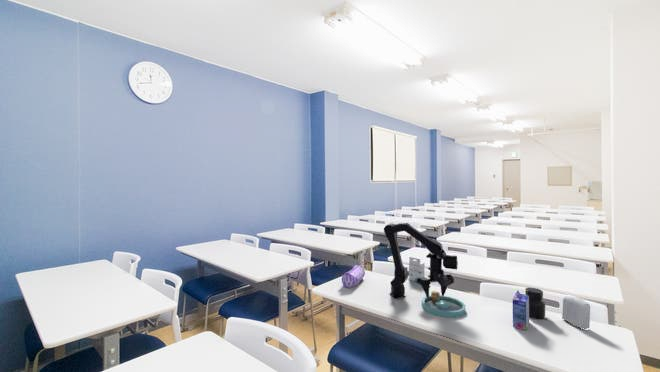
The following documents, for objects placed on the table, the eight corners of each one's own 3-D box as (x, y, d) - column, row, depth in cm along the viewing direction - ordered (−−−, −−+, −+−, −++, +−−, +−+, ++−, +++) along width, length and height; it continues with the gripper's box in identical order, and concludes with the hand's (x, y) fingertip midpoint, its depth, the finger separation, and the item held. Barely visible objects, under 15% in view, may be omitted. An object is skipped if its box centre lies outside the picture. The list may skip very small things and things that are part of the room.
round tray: (439, 319, 136) (439, 314, 136) (414, 302, 155) (414, 297, 155) (474, 313, 142) (474, 308, 142) (446, 297, 161) (446, 293, 161)
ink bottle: (544, 313, 143) (545, 288, 142) (547, 321, 135) (548, 295, 134) (520, 309, 147) (521, 285, 147) (522, 316, 139) (522, 291, 139)
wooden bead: (434, 303, 152) (434, 294, 152) (429, 300, 155) (429, 291, 155) (441, 302, 153) (441, 293, 153) (436, 299, 157) (436, 290, 157)
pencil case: (352, 276, 195) (352, 262, 195) (365, 278, 191) (366, 263, 191) (340, 288, 174) (340, 272, 174) (355, 290, 171) (356, 274, 171)
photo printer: (591, 330, 127) (592, 301, 127) (583, 330, 127) (584, 302, 126) (568, 318, 138) (568, 292, 137) (560, 319, 137) (561, 292, 136)
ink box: (424, 281, 186) (425, 258, 185) (420, 283, 183) (420, 259, 182) (413, 278, 192) (413, 255, 192) (408, 279, 189) (408, 256, 189)
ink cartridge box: (514, 318, 138) (515, 287, 137) (529, 322, 134) (529, 290, 134) (511, 326, 130) (512, 293, 129) (526, 330, 126) (527, 297, 126)
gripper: (430, 273, 143) (429, 305, 144) (461, 269, 149) (461, 300, 149) (416, 266, 154) (416, 296, 154) (446, 263, 159) (446, 292, 160)
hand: (435, 296), depth 154 cm, fingers open, 9 cm apart
